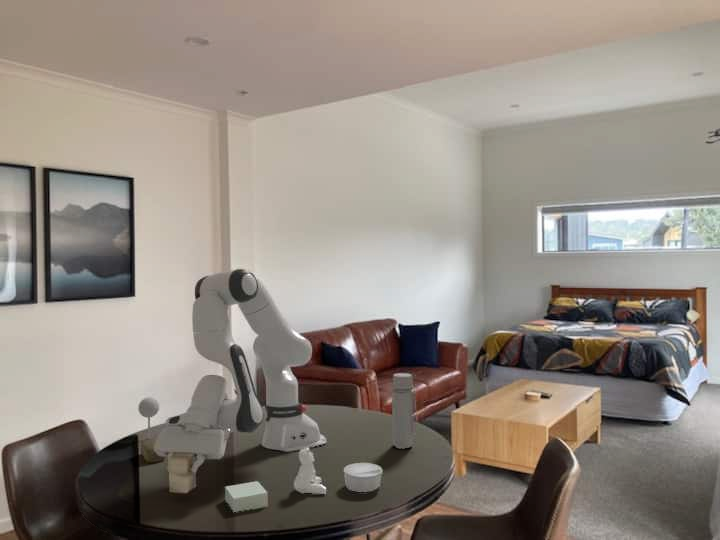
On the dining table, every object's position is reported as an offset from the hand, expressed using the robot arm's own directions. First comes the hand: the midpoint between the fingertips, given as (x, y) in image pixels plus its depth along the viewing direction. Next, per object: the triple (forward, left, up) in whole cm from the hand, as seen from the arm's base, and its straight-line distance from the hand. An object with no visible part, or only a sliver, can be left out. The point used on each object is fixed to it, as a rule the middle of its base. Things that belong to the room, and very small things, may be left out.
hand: (181, 471), depth 161 cm
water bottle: (-75, -21, -8) cm, 79 cm away
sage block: (-16, +8, -8) cm, 20 cm away
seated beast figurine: (-34, +5, -8) cm, 35 cm away
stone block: (+7, -39, -8) cm, 41 cm away
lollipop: (+8, -61, -8) cm, 62 cm away
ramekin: (-49, +8, -8) cm, 50 cm away
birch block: (-1, 0, -5) cm, 5 cm away
